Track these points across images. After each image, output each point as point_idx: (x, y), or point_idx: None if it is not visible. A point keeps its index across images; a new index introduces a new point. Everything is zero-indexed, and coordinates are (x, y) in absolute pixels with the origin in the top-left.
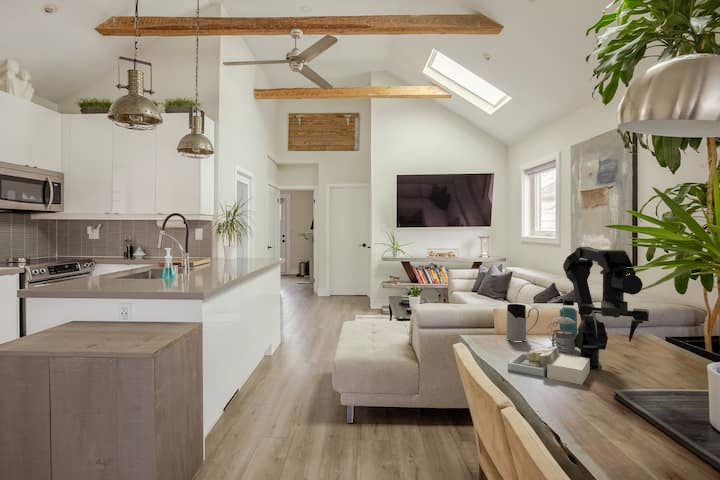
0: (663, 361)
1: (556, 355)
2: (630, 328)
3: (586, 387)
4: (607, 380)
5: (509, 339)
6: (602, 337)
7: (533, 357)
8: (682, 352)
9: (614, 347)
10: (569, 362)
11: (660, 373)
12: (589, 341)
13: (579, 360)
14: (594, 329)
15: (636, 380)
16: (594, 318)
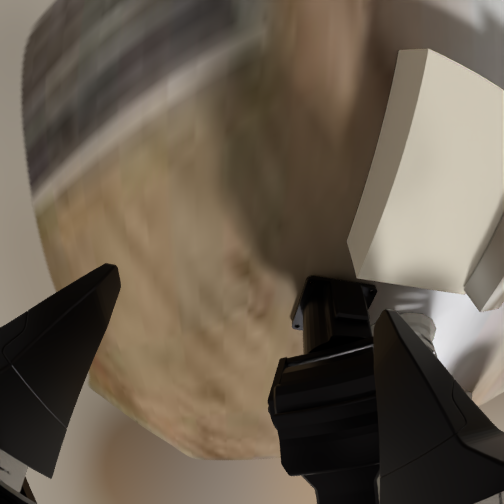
0: (143, 379)
1: (491, 247)
2: (29, 345)
3: (382, 21)
4: (288, 152)
5: (470, 395)
6: (296, 394)
7: None
8: (130, 415)
9: (244, 426)
10: (466, 171)
11: (128, 304)
12: (364, 358)
13: (414, 224)
14: (424, 363)
15: (179, 206)
16: (439, 483)
